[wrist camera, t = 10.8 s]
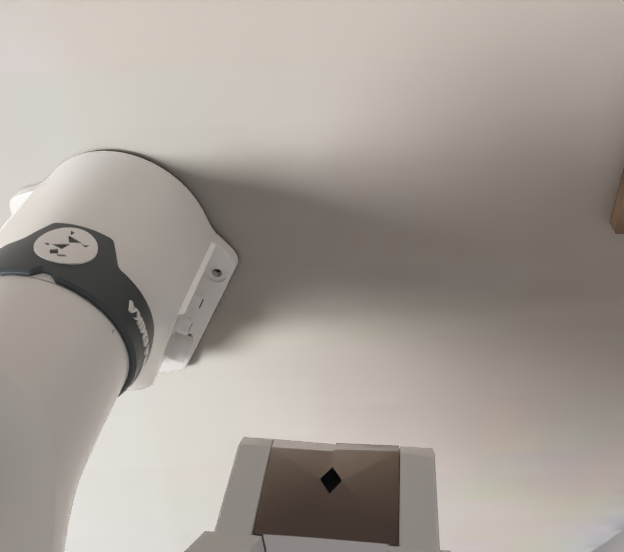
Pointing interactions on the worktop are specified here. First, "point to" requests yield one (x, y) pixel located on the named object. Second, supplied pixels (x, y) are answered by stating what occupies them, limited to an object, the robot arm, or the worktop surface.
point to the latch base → (619, 210)
